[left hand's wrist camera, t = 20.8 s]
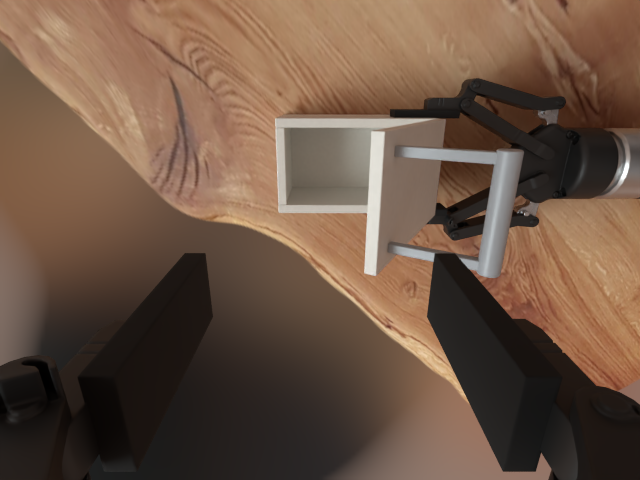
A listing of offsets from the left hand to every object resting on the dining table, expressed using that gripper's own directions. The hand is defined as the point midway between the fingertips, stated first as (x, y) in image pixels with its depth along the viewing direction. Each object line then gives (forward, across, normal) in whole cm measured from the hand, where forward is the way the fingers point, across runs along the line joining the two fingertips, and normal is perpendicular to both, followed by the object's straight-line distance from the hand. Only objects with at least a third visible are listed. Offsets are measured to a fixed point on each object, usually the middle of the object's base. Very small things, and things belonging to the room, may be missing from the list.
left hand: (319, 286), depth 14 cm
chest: (+35, +4, 0) cm, 35 cm away
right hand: (+28, +8, 0) cm, 29 cm away
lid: (+18, +7, 0) cm, 19 cm away
